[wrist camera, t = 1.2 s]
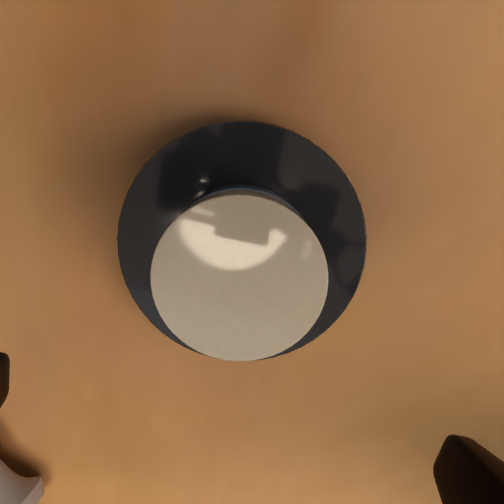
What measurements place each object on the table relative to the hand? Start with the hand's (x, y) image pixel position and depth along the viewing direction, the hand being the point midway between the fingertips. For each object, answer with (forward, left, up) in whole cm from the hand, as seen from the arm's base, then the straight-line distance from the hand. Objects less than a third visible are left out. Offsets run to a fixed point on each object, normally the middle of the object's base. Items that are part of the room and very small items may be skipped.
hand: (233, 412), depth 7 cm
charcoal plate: (0, 0, -13) cm, 13 cm away
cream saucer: (0, 0, -10) cm, 10 cm away
